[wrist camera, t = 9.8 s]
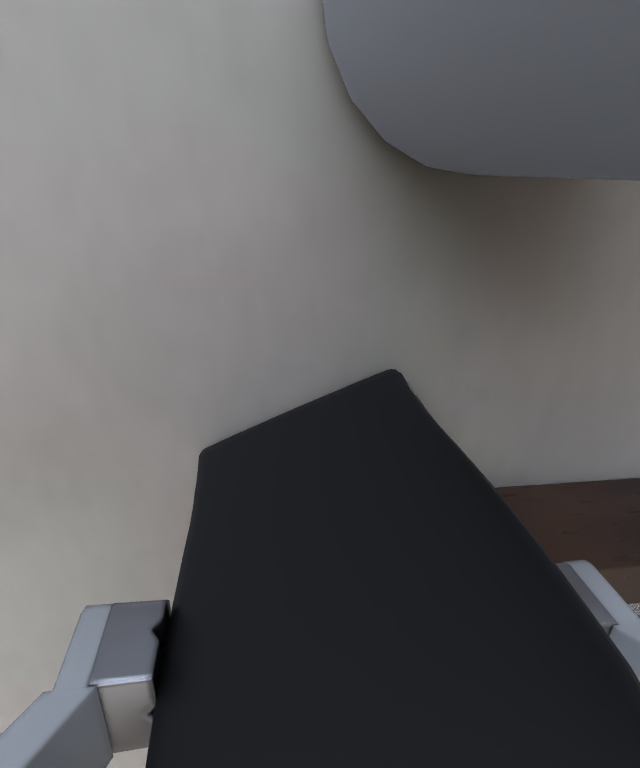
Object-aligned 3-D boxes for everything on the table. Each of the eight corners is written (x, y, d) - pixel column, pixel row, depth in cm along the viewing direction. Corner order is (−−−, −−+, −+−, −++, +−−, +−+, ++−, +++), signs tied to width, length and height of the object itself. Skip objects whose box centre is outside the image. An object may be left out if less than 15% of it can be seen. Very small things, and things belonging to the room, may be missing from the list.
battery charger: (244, 533, 16) (246, 1185, 6) (189, 448, 14) (55, 1152, 4) (434, 452, 16) (788, 984, 6) (401, 356, 14) (819, 865, 4)
